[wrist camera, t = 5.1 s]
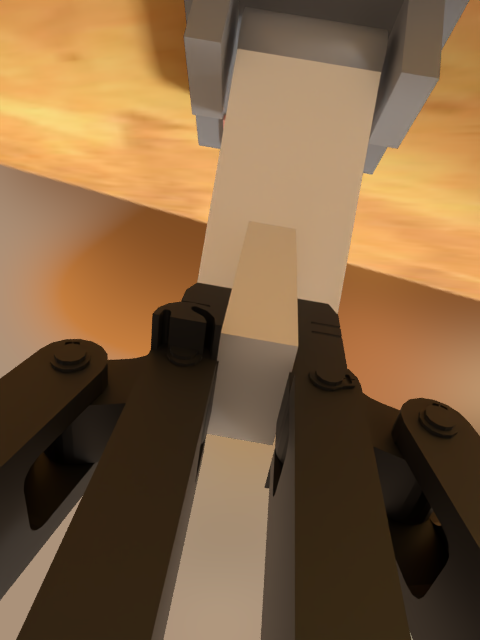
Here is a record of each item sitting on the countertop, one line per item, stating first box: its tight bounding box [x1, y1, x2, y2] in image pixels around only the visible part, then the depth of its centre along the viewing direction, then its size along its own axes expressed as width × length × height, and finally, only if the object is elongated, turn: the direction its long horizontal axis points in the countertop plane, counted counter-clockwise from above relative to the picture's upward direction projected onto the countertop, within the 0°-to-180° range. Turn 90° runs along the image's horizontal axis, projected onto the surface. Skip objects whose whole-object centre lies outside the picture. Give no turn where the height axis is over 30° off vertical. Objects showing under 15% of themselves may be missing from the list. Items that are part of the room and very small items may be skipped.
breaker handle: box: [197, 7, 388, 314], centre depth 17 cm, size 3×6×15 cm, turn 88°
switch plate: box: [184, 0, 469, 174], centre depth 17 cm, size 18×10×7 cm, turn 178°
